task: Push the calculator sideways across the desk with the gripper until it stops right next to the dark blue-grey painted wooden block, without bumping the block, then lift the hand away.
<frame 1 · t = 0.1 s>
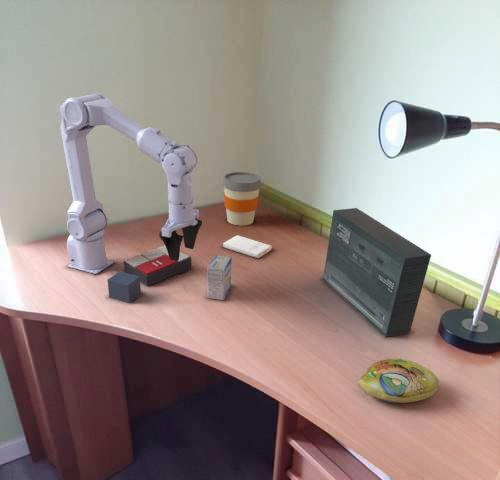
hand: (181, 253, 122), 10 cm above the table, tool pointing down, fingers open, 7 cm apart
cell model: (396, 392, 97), on the table
medicine box: (219, 293, 127), on the table
reusable coffee cup: (240, 221, 169), on the table
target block: (125, 295, 123), on the table
calculator: (158, 271, 135), on the table
cassette player: (362, 304, 126), on the table
hard drive: (247, 249, 150), on the table
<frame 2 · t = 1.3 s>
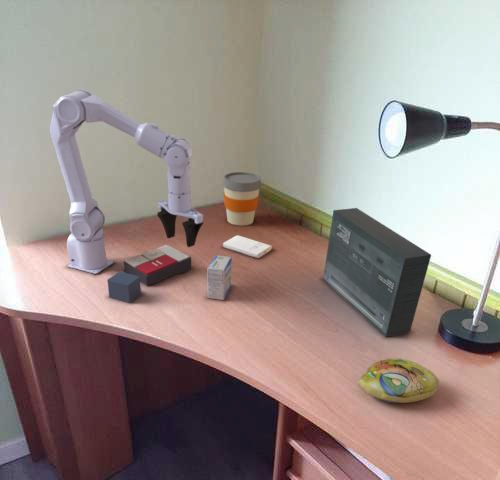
hand: (180, 241, 130), 9 cm above the table, tool pointing down, fingers open, 7 cm apart
nothing on the table moved.
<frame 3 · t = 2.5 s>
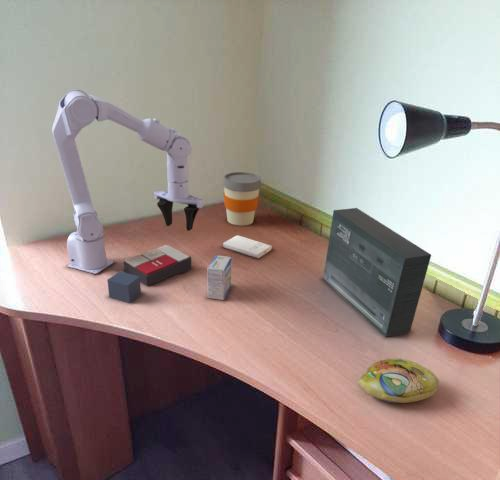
hand: (179, 227, 140), 8 cm above the table, tool pointing down, fingers open, 6 cm apart
nothing on the table moved.
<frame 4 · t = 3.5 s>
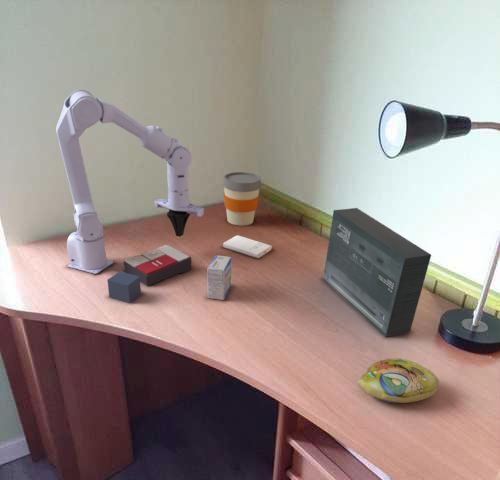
hand: (179, 235, 141), 6 cm above the table, tool pointing down, fingers closed
nothing on the table moved.
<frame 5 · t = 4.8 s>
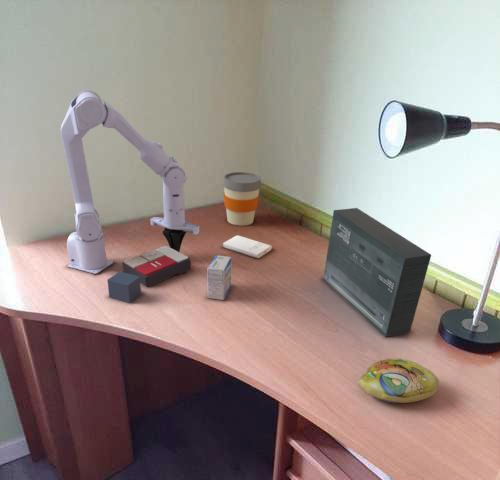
hand: (175, 252, 142), 2 cm above the table, tool pointing down, fingers closed
calculator: (157, 272, 135), on the table, touching gripper
everything else where it was.
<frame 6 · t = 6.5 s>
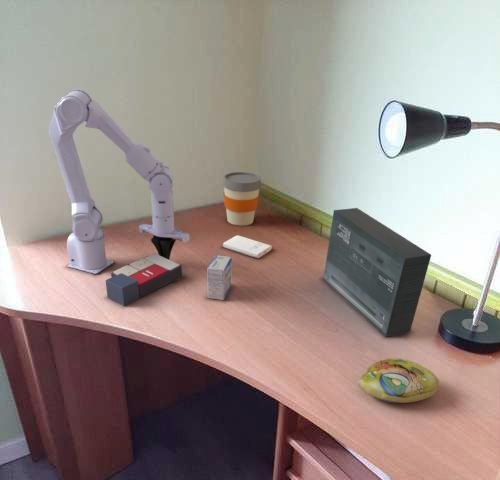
hand: (165, 260, 137), 1 cm above the table, tool pointing down, fingers closed
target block: (123, 298, 122), on the table
calculator: (148, 281, 130), on the table, touching gripper
everything else where it was.
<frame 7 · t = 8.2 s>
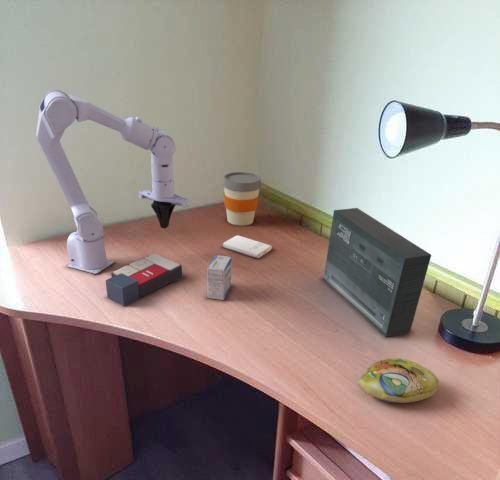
hand: (164, 227, 138), 9 cm above the table, tool pointing down, fingers closed
calculator: (148, 281, 130), on the table
everything else where it was.
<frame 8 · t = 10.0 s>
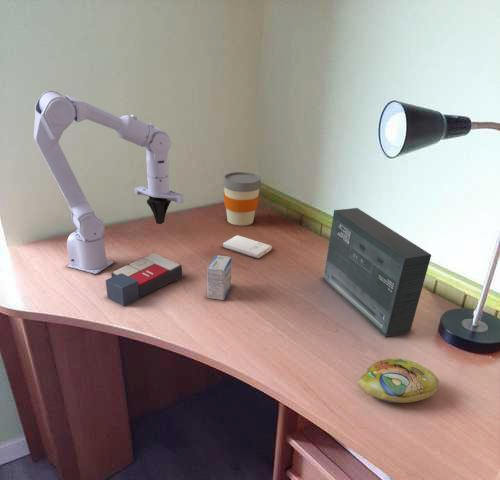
hand: (160, 222, 139), 9 cm above the table, tool pointing down, fingers closed
nothing on the table moved.
at the end: calculator 1.0 cm from the target spot on the table beside the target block, on the table; calculator moved 6.3 cm from its start; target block moved 1.2 cm from its start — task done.
